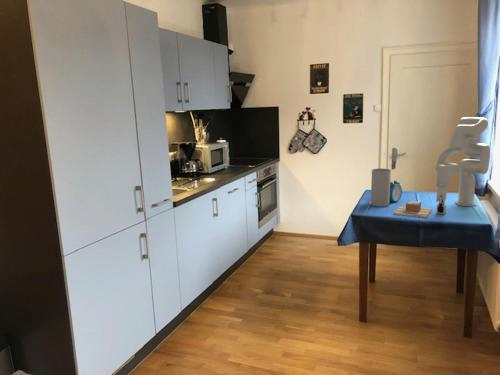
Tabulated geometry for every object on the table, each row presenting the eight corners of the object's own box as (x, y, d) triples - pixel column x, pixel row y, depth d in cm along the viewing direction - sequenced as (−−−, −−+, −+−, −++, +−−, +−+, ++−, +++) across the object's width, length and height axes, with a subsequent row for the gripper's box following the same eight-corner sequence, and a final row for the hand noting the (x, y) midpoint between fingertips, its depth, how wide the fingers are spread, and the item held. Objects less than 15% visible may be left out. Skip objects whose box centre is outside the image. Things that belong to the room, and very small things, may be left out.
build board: (400, 206, 281) (400, 197, 280) (431, 210, 271) (432, 200, 270) (393, 214, 265) (394, 204, 263) (426, 217, 254) (427, 207, 253)
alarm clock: (391, 203, 290) (392, 183, 287) (383, 202, 295) (384, 182, 292) (401, 200, 298) (402, 180, 294) (394, 199, 302) (395, 179, 299)
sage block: (437, 211, 267) (437, 203, 266) (445, 212, 265) (446, 204, 263) (436, 213, 263) (436, 205, 262) (444, 214, 260) (445, 206, 259)
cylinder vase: (384, 208, 280) (385, 172, 275) (367, 205, 288) (368, 170, 283) (392, 204, 289) (393, 169, 283) (375, 201, 297) (377, 167, 292)
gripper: (438, 180, 269) (436, 207, 273) (434, 186, 255) (432, 214, 258) (450, 181, 265) (449, 208, 269) (447, 187, 251) (445, 215, 255)
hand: (441, 211), depth 264 cm, fingers closed on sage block, 4 cm apart
